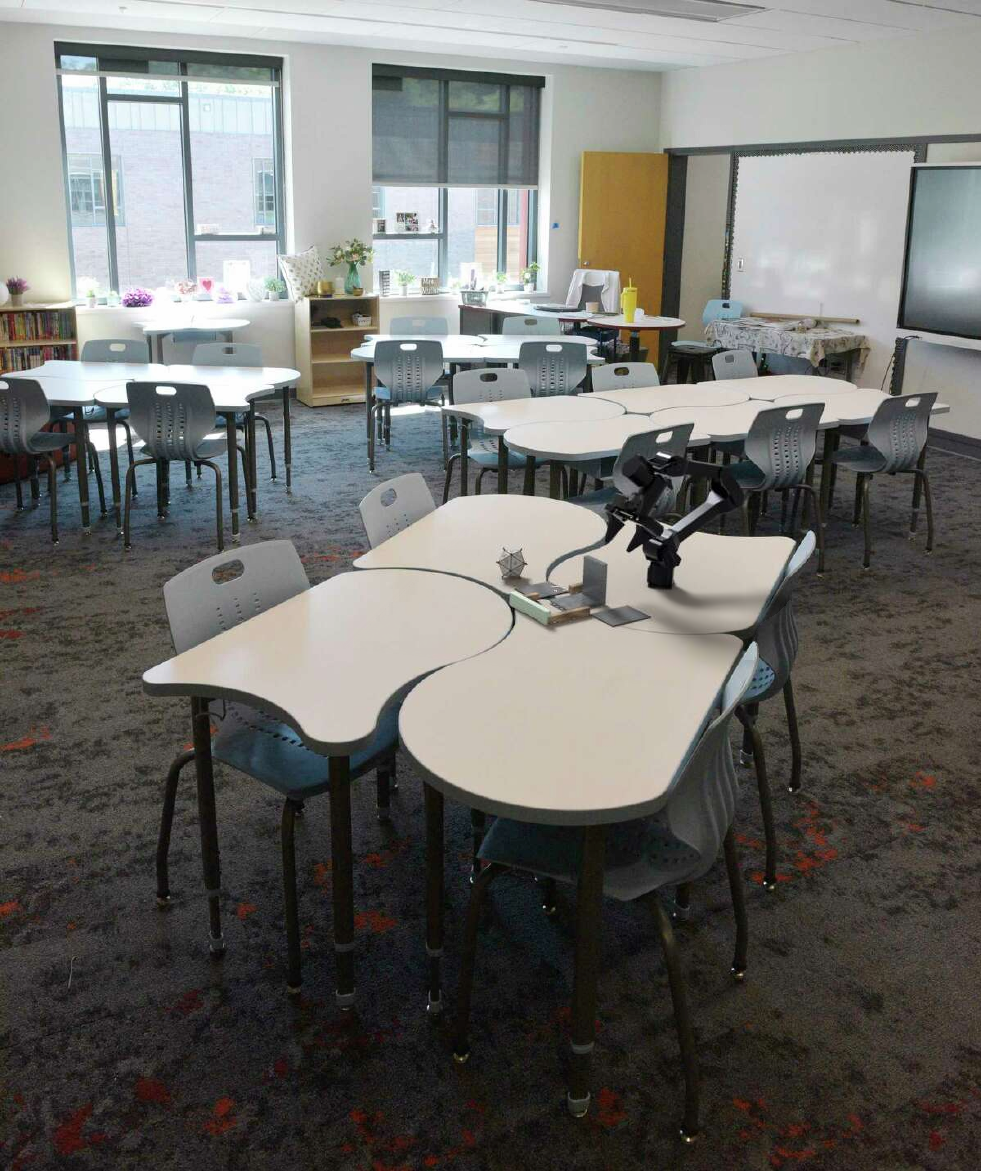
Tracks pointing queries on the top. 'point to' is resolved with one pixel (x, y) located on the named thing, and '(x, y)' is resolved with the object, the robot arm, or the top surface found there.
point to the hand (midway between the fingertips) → (616, 547)
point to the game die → (511, 563)
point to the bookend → (587, 587)
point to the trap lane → (608, 616)
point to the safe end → (529, 607)
